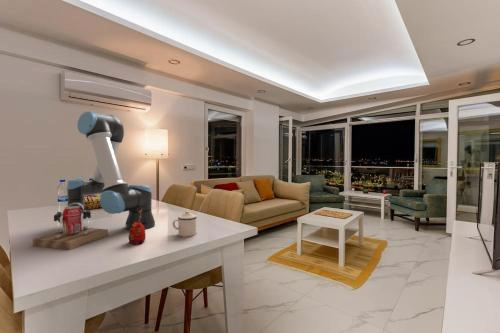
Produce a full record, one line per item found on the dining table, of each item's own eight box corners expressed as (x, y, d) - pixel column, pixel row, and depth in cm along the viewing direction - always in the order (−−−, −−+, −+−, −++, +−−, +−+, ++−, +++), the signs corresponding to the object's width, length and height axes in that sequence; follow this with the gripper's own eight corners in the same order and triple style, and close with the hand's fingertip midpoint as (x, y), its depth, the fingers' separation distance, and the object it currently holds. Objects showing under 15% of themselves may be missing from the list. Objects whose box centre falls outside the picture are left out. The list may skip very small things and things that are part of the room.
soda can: (69, 230, 120) (68, 205, 120) (84, 230, 121) (84, 205, 121) (59, 235, 113) (58, 208, 113) (75, 235, 114) (75, 208, 114)
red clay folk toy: (125, 242, 114) (125, 209, 114) (139, 238, 120) (139, 207, 119) (134, 246, 110) (134, 211, 109) (149, 241, 116) (149, 209, 115)
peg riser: (107, 235, 125) (107, 226, 125) (70, 249, 105) (70, 238, 105) (74, 232, 129) (74, 223, 129) (33, 245, 110) (32, 235, 110)
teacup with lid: (198, 231, 131) (198, 209, 131) (193, 237, 122) (193, 213, 122) (176, 231, 132) (176, 209, 132) (169, 236, 123) (169, 212, 123)
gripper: (97, 215, 138) (97, 225, 118) (50, 220, 127) (43, 231, 108) (97, 202, 137) (97, 209, 118) (50, 205, 127) (42, 214, 107)
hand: (71, 220), depth 113 cm, fingers closed on soda can, 7 cm apart
